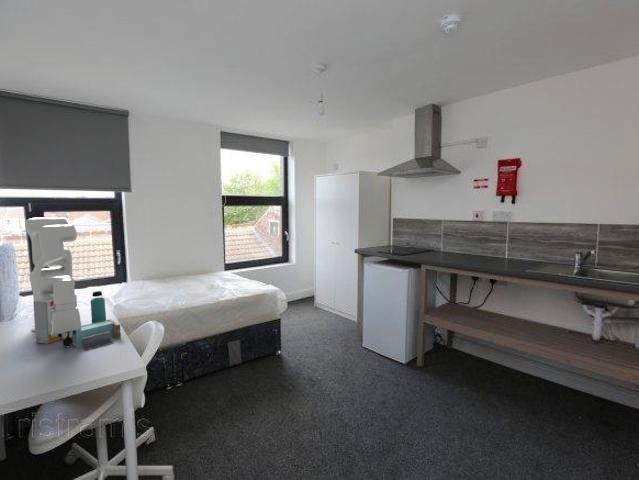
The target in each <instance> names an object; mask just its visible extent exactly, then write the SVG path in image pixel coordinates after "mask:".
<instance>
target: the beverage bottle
mask: <svg viewBox="0 0 639 480" xmlns="http://www.w3.org/2000/svg"><path fill="white" fill-rule="evenodd" d="M92 297H93V298H92V299H91V300H89V301H90V311H91V312H90V313H91V316H90V317H91V324H92V323H96V322H101V321H105V320H107V312H106V302H105V301H106V299H105V298H104V297H103V292H102V291H101V290H97V291H92Z"/></svg>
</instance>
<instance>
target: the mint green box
mask: <svg viewBox="0 0 639 480" xmlns="http://www.w3.org/2000/svg"><path fill="white" fill-rule="evenodd" d="M108 331H110V336H111V338H114V337H113V323H111V322H109V321H105V322H101V323H97V324H93V325H88V326H84V327H81V330H80V331H77V332H76V333H75V334H74V335H73V336H72V337H73V343H72V345H74V346H75V347H83V345H82V338H84V337H88V336H92V335H96V334H100V333H104V332H108Z"/></svg>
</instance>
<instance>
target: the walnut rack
mask: <svg viewBox="0 0 639 480" xmlns="http://www.w3.org/2000/svg"><path fill="white" fill-rule="evenodd" d="M105 321H109V322H111V323H113V337H112V338H114V339H116V340H118V341H119V340H120V339H121V340H122V337H121V335H122V334H121V324H119V323H118V322H116V321H114V320H113V319H106V320H105ZM105 321H101V322H105ZM101 322H96V323H92V322H91V323H88V324H84V325H83V324H82V325H81V327H84V326H88V325H93V324H97V323H101ZM67 335H68V332H67ZM71 339H72V344H73V337H71Z"/></svg>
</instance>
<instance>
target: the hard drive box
mask: <svg viewBox="0 0 639 480" xmlns="http://www.w3.org/2000/svg"><path fill="white" fill-rule="evenodd" d="M77 298H78V296H77V294H75V307H77V308H78V302H77V301H78V299H77ZM53 304H54V299H53V297H50V298H46V299H41V300H37V301H34V300H33V318H34V319H33V320H34V326H35V331H34V336H35V338H34V340H35V343H41V344H47V345H48V344H50V343H53V342H57V341H58V340H61V339H62V338H61V337H59V336H57V337H52V336H51V333H52V330H51V317H52V311H54V309H50V306H53ZM65 336H66V337H67V332H66V333H65Z"/></svg>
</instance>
